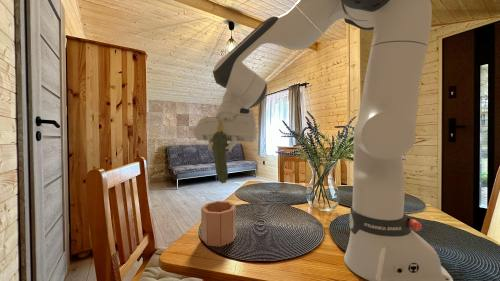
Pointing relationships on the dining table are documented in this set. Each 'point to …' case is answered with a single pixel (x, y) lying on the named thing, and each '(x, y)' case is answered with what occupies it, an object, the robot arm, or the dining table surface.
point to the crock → (218, 223)
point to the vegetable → (220, 153)
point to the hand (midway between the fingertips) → (219, 149)
